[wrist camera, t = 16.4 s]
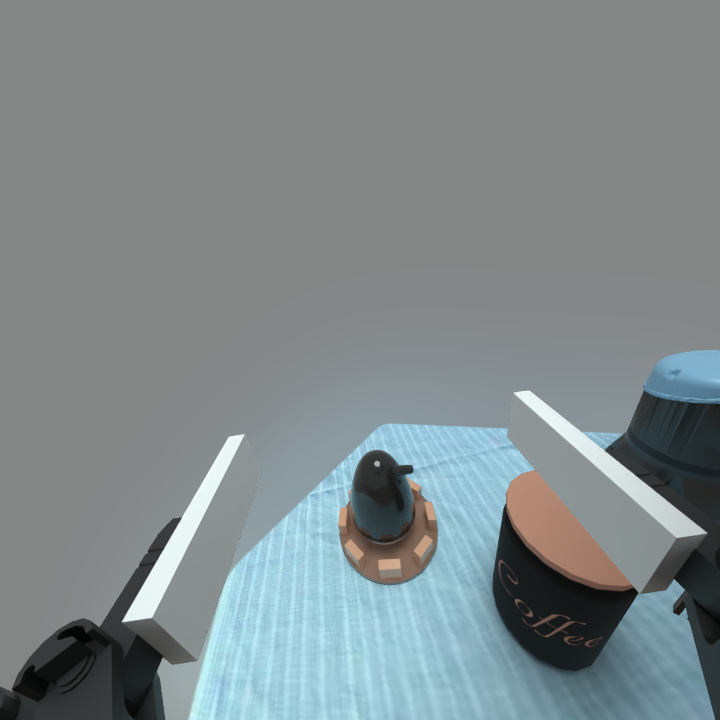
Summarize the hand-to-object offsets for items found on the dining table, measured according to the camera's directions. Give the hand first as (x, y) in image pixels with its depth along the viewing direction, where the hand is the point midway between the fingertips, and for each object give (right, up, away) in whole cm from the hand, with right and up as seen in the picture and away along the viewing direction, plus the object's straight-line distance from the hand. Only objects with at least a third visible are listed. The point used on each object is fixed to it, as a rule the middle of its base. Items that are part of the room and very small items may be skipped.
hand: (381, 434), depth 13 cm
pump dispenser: (+3, -24, +30) cm, 38 cm away
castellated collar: (+4, -24, +30) cm, 39 cm away
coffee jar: (+21, -27, +19) cm, 39 cm away
